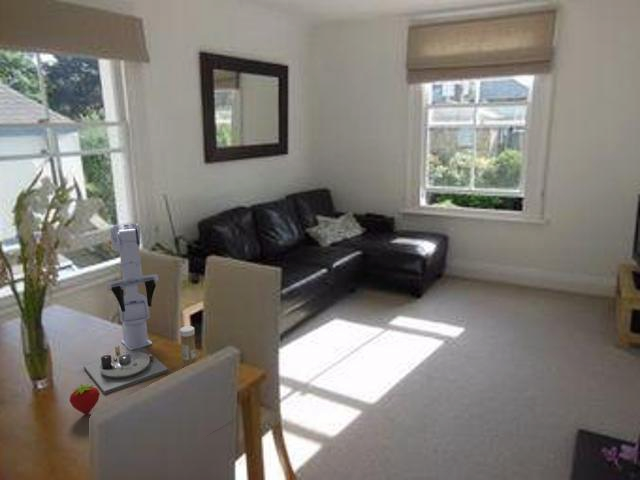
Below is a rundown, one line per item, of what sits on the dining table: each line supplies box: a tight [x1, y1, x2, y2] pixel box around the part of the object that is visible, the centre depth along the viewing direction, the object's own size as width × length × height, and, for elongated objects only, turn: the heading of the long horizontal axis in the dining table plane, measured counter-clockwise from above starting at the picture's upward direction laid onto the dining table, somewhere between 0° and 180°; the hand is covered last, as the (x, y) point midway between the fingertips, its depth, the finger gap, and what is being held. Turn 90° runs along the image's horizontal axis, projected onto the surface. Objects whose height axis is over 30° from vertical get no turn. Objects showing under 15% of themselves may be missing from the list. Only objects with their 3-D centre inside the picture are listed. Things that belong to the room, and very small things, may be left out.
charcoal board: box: [83, 346, 169, 395], centre depth 160 cm, size 20×20×1 cm
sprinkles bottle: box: [179, 325, 197, 368], centre depth 161 cm, size 5×5×13 cm
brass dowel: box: [114, 345, 121, 354], centre depth 166 cm, size 1×1×4 cm
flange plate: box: [100, 350, 154, 379], centre depth 160 cm, size 16×15×5 cm
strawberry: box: [69, 383, 100, 415], centre depth 136 cm, size 6×8×10 cm
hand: (136, 308), depth 149 cm, fingers open, 7 cm apart
